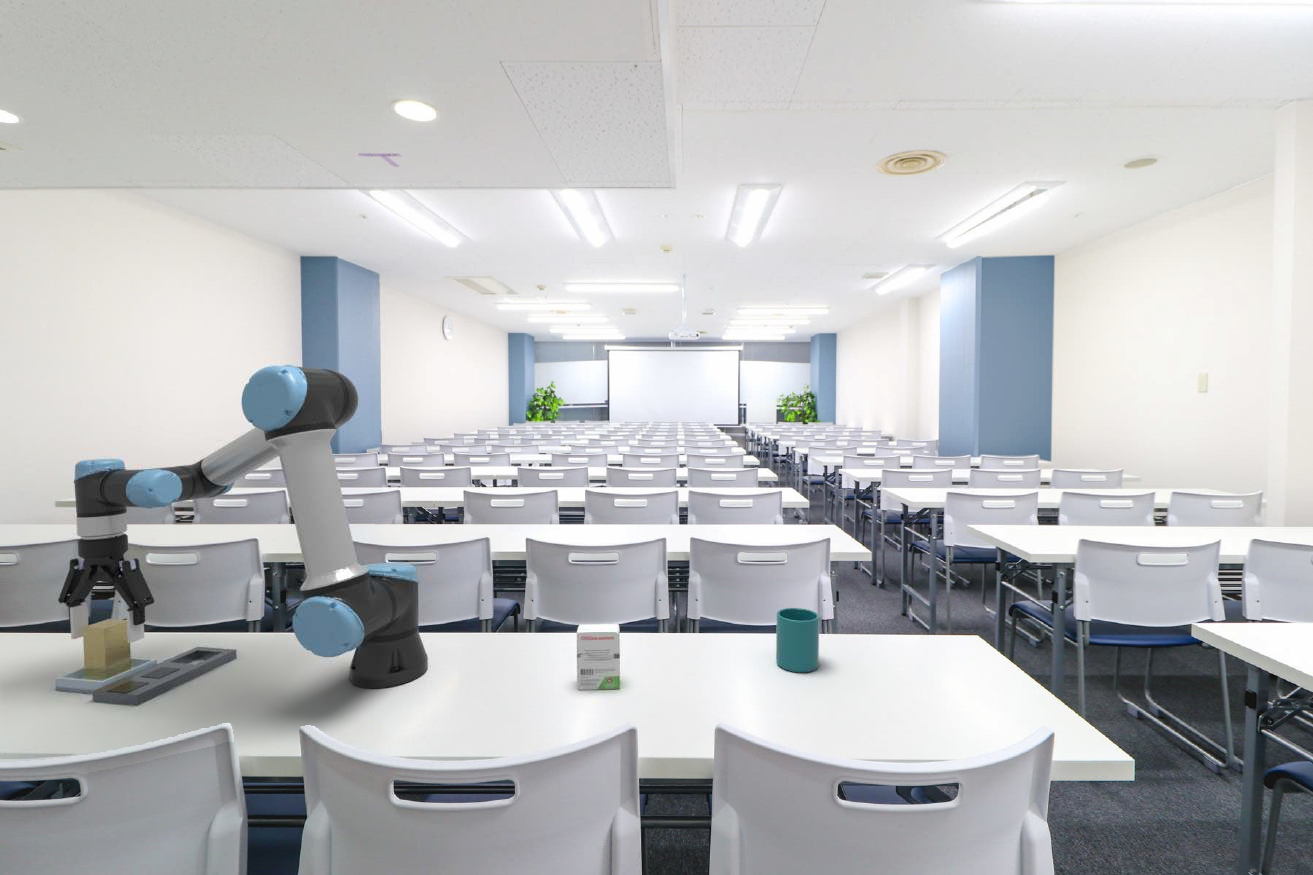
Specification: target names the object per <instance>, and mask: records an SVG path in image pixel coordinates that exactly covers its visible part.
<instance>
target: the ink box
mask: <svg viewBox="0 0 1313 875" xmlns="http://www.w3.org/2000/svg"><path fill="white" fill-rule="evenodd" d="M620 636H621V635H620V625H619V624H618V623H615V624H611V623H610V624H578V627H577V630H576V686H577V687H576V688H577V690H578V691H590V690H591V691H592V690H595V691H598V690H619V689H620V688H621V661H620V660H621V655H620V654H621V653H620V652H621V648H620V647H621V646H620V644H621V642H620Z"/></svg>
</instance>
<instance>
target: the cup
mask: <svg viewBox="0 0 1313 875" xmlns="http://www.w3.org/2000/svg"><path fill="white" fill-rule="evenodd" d="M775 630H776V634H775V635H776V642H775V643H776V645H775V648H776V649H775V653H776V654H775V661H776V663H777V665H778V667H780V668H782V669H784V670H786V671H789V672H793V673H801V674H802V673H810V672H813V671H815V670H816V669H818V666H819V663H820V661H819V658H820V657H819V655H820V654H819V653H820V652H819V651H820V650H819V648H820V616H819V614H818V613H817V612H815V611H814V610H810V609H808V608H807V609H806V608H800V607H787V608H786V607H785V608H782V609H779V610H778V611H777V612H776V629H775Z"/></svg>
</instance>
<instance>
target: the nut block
mask: <svg viewBox="0 0 1313 875" xmlns="http://www.w3.org/2000/svg"><path fill="white" fill-rule="evenodd" d="M82 638H83V641H82V642H83V662H84V668H85V679H89V680H100V681H103V680H106V679H108V678H110V677H113V676H115V675H118V674H120V673H123V672H125V671H127V670H130V669H131V656H132V653H131V652H132V651H131V643H128V637H127V619H117V618H116V619H114V618H107V619H104V620H101V621H98V622H95V623H91V624H88V626H85V627H83V637H82Z"/></svg>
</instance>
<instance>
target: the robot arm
mask: <svg viewBox="0 0 1313 875" xmlns="http://www.w3.org/2000/svg"><path fill="white" fill-rule="evenodd" d="M241 394H242V395H241V409H242V413H243V415H244V418H245V419H246V421H247V422H248V423H251V424H252V426H253V428H252V429H250V430H248V431H247V432H245V433H244V434H242V435H241V436H239V437H237V438H235V439H234V440H232V441H231V442H228V443H227V444H225V445H224V446H222V447H220V448H219V449H217V450H215V451H214V452H212V453H210V454H209V455H207V456H205V457H204V458H201V459H200V460H199V461H197V462H195V463H193V464H186V465H185V464H184V465H178V466H177V465H175V466H169V467H168V466H166V467H165V466H164V467H157V468H156V467H155V468H145V469H126V466H125V462H124V460H123V459H120V458H100V459H99V458H96V459H86V460H85V459H84V460H80V461H78V462H77V463H76V464H75V465H74V466H75V467H74V479H73V484H74V495H75V496H74V497H75V509H76V517H75V518H76V536H78V537H80V538H79V539H78V540H77V556H78V557H77V558H71V559H70V560H69V570H68V572H67V576H66V578H65V581H64V583H63V586H62V589H61V591H60V594H59V596H58V598H57V599H58V600H57V601H58V603H59V604H65V606H66V607H68V619H69V622H70V634H71V636H70V637H71V640H76V639H79V638H83V627H85V626H88V625H89V613H88V611H89V610H88V603H86V602H88V601H87V600H86V599H87V598H88V596H89V594H90V593H91V592H92V590H93V588H94V587H95V586H96V584H97V583H98V582H102V583H107V584H109V585H110V586H112V587H114V589H115V590H116V592H117V593H118V594H119V595H120V597H121V598H122V600H123V602H125V604H126V605H127V606H128V608H127V610H126V620H127V637H128V643H130V644H132V643H135V642H137V641H140V640H143V639H145V623H146V607H147V606H150V605H152V604H154V603H155V599H154V596H153V594H152V592H151V590H150V588H149V585H148V583H147V581H146V579H145V577H144V575H143V573H142V571H141V568H140V567H141V566H140V560H139V559H138V558H137V557H136V558H132V559H128V560H127V559H125V557H124V555H125V553H127V552H128V551H129V536H128V534H127V533H126V532H127V531H128V522H127V519H128V518H127V511H128V509H127V508H141V509H142V508H144V509H155V508H156V509H157V508H165V507H169V506H171V505H172V504H174V503H175V504H176V503H180V502H186V501H192V500H198V499H199V500H200V499H207V498H208V499H209V498H210V499H211V498H215V497H218V496H221V495H226V494H227V493H229V492H230V491H232V488H233V486H234V485H235V482H237V481H238V480H240V479H242V478H243V477H245V476H247V475H249V474H251V473H252V472H254V471H256V470H258V469H259V468H261V467H262V466H264V465H266V464H268V463H270V462H272V461H273V460H275V459H276V458H278V457H279V461H280V464H281V469H282V472H283V473H282V474H283V479H284V482H285V487H286V491H287V495H288V498H289V499H288V500H289V505H290V508H291V512H292V517H293V520H294V526H295V530H296V534H297V539H298V544H299V547H300V552H301V556H302V559H303V565H304V568H305V572H306V579H305V580H304V582H303V584H302V585H301V586H300V589H299V590H300V594H301V595H300V596H301V599H302V602H301V603H300V604H299V606H297V608H296V609H295V613H294V615H293V616H292V628H293V629H292V630H293V633H294V636H295V637H296V639H297V641H298V642H299V644H300V645H301V646H302V648H304V649H305V650H307V651H310V652H311V653H312V654H314V655H315V656H318V657H321V658H322V657H323V658H335V657H339V656H341V655H344V654H346V653H347V652H351V651H354V653H353V657H352V660H351V662H350V665H349V666H350V667H349V681H350V683H351V684H352V685H354V686H356V687H360V688H365V689H366V688H367V689H379V688H380V689H382V688H388V687H395V686H399V685H403V684H406V683H409V682H412V681H414V680H416V679H418V678H420V677H422V676H423V675H424V674H425V673H426V672H427V670H428V668H429V667H428V666H429V660H428V659H429V658H428V654H427V652H426V650H425V647H424V644H423V641H422V638H421V636H420V632H419V631H420V630H419V584H420V582H419V577H418V569H417V568H416V566H414V565H413V564H411V563H400V562H383V563H382V562H380V563H370V564H365V565H362V564H360V563H359V562H358V557H357V555H356V554H357V553H356V550H355V549H356V548H355V545H354V542H353V535H352V531H351V527H350V524H349V518H348V516H347V510H346V506H345V502H344V497H343V493H342V489H341V484H340V480H339V476H338V471H337V467H336V464H335V459H334V458H335V457H334V455H333V454H334V453H333V449H332V445H331V441H332V439H333V437H334V435H335V434H336V433H337V429H339V428H341V427H343V426H344V425H345V424H347V423H348V422H349V421H350V420H351V419H352V418H353V417H354V416H355V414H356V412H357V410H358V405H359V395H358V390H357V389H356V386H355V385H354V383H353V382H352V381H351V380H350V379H349V378H348V377H347V376H345V375H344V374H342V373H340V372H339V371H336V370H331V369H327V368H326V369H325V368H324V369H323V368H313V367H312V368H311V367H304V366H295V365H291V364H285V365H270V366H266V367H263V368H260V369H259V370H257V371H256V372H254V373H253V374H252V375H251V376H250V378H249V380H248V383H246V384H245V385H244V388H243V390H242V393H241Z"/></svg>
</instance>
